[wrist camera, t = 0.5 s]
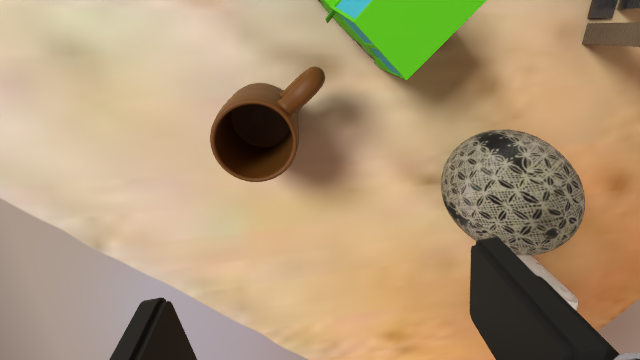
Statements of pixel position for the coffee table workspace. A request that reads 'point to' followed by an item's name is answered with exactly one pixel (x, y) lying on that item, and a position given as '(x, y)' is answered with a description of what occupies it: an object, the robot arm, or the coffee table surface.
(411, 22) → the green toy car
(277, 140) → the mug
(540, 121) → the coffee table surface
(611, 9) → the gate posts
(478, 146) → the decorative egg
